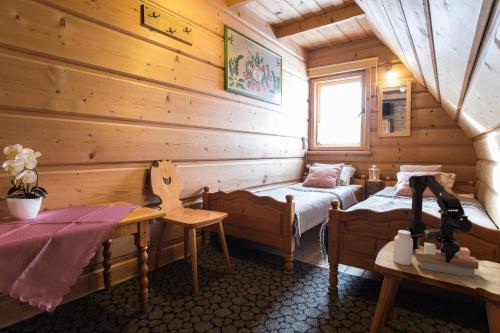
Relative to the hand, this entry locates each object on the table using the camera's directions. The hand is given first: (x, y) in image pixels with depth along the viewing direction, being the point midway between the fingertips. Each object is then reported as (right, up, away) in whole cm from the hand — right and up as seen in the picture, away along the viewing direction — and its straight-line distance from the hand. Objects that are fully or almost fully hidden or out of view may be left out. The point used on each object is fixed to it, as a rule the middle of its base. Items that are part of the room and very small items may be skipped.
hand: (445, 258), depth 128 cm
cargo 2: (+6, +1, -3) cm, 7 cm away
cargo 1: (-6, +2, +2) cm, 6 cm away
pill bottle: (-15, -4, +8) cm, 18 cm away
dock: (0, -5, 0) cm, 5 cm away
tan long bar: (0, -2, 0) cm, 2 cm away
